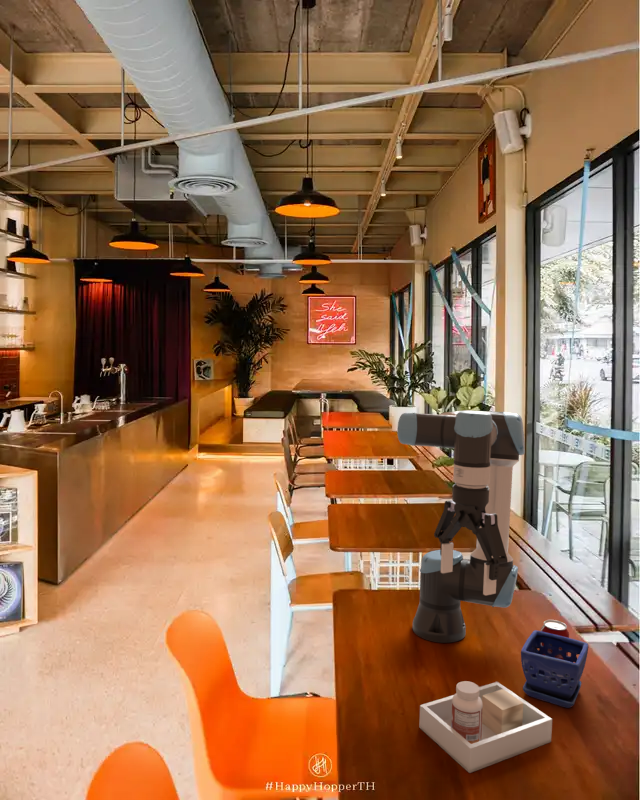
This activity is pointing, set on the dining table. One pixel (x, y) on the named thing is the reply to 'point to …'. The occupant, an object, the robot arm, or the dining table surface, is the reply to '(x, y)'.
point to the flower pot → (553, 668)
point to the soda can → (555, 632)
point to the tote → (484, 733)
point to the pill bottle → (467, 711)
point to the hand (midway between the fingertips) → (467, 582)
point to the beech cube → (501, 711)
